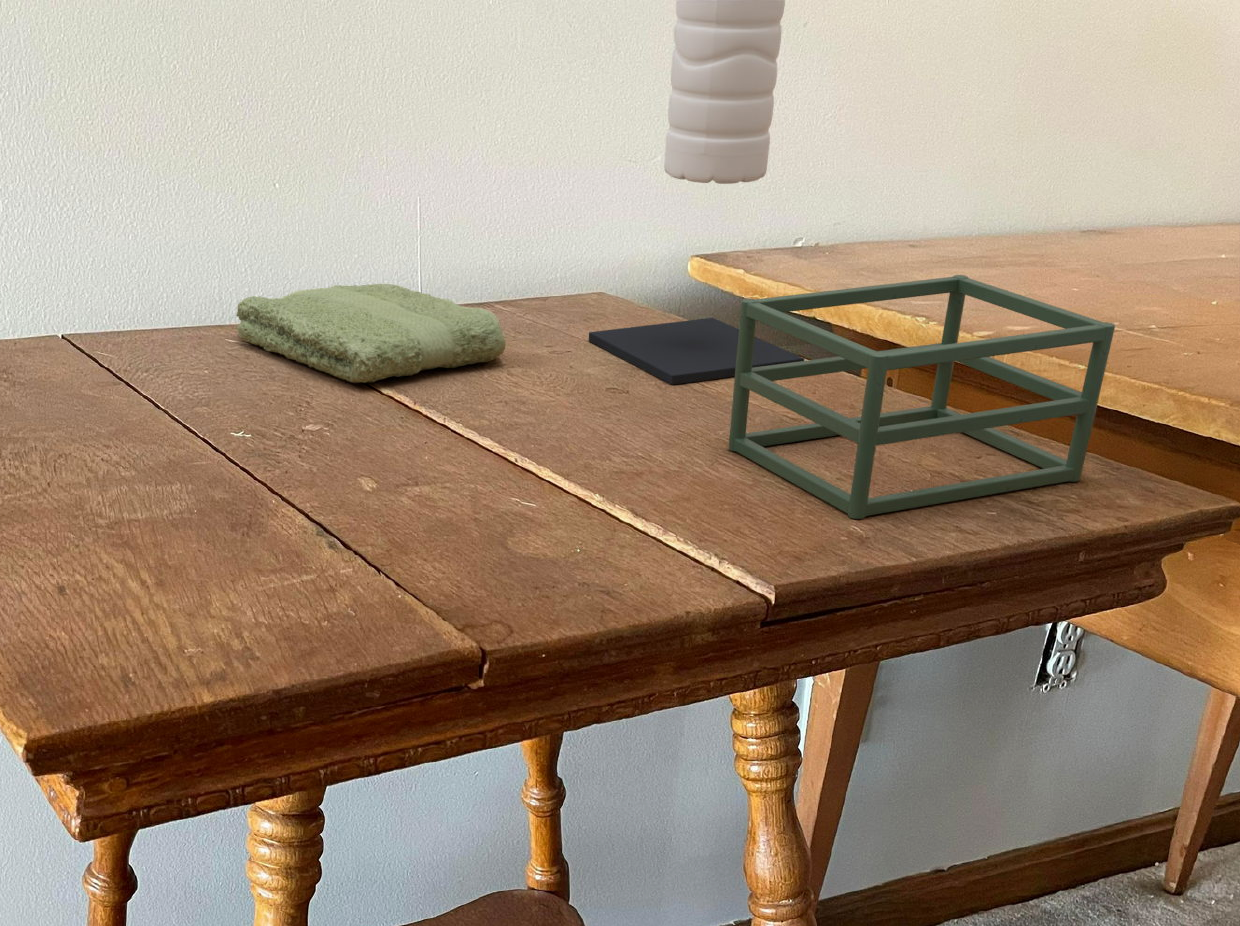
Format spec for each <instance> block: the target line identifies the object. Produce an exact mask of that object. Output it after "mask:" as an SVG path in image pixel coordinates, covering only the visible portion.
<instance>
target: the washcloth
mask: <svg viewBox="0 0 1240 926" xmlns="http://www.w3.org/2000/svg"><path fill="white" fill-rule="evenodd" d="M235 316H236V317H238V320H239V321H240V322H239V324H238V327H237V333H238V336H239V338H240V339H242V340H243V341H244V342H246V343H250V344H251V345H254V346H259V347H261V348H263V350H265V351H267V352H269V353H270V352H273V353H277V354H280V355H282V356H284V357H286V358H287V359H289V360H294V361H296V362H297V363H302V364H305V365H306V366H307V365H308V367H309V368H314V370H318V371H321V372H324V373H327V374H329V375H330V376H333V377H335V378H338V379H341V380H346V381H347V382H350V383H374V382H377V381H381V380H385V379H387V378H391V377H396V378H398V377H399V378H400V377H405V376H406V377H407V376H413V375H415V374H418V373H419V372H420V371H425V370H432V369H436V368H444V369H456V368H458V367H462V366H466V365H474V364H478V363H488V362H491V361H493V360H495V358H497V357H500V356H501V355H502V354H503V353H504V351H505V350H506V346H507V345H506V343H507V342H506V338H505V335H504V332H503V328H502V326H501V323H500V320H499V319H498V317H497V315H495V314H494V313H493V312H492V311H491V310H488V309H487V308H483V307H467V306H463V305H460V304H457V303H456V302H454V301H452V300H451V299H447V298H441V297H436V296H432V295H431V294H430V293H429V294H428V293H424V292H421V291H414V290H411V289H409V288H406V287H403V286H400V285H397V284H393V283H373V284H361V285H339V284H337V285H336V284H335V285H333V286H329V287H322V288H320V287H319V288H311V289H301V290H300V289H299V290H296V291H294V292H290V293H288V294H287V295H284V296H282V297H280V298H278V297H277V298H269V297H264V296H255V295H253V296H248V297H246V298H244V299H242V300H240V301H239V302H238V303H237V311H236V313H235Z"/></svg>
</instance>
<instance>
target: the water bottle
mask: <svg viewBox="0 0 1240 926" xmlns="http://www.w3.org/2000/svg"><path fill="white" fill-rule="evenodd" d="M785 6H786V0H676V1H675V11H676V12H675V13H676V18H677V19H676V22H675V24H674V28H673V41H674V44H675V45H674V47H673V50H672V57H671V67H670V68H671V70H670V85H671V87H672V88H671V91H670V94H669V100H668V111H667V120H668V124H669V127H668V129H667V132H666V135H665V136H666V137H665V148H664V149H665V151H664V165H663V167H664V172H665V173H666V174H667V175H668V176H669V177H671V178H674V179H677V180H686V181H688V182H691V183H699V184H700V183H701V184H709V183H711V182H714V183H715V184H720V185H731V184H739V183H740V182H741V183H751V182H756V181H758V180H760V179H762V178H764V177H765V176H766V174H767V169H768V163H769V162H768V161H769V153H770V143H771V134H770V132H769V131H770V130H769V129H770V127H771V126H772V121H773V115H774V106H775V105H774V104H775V97H774V94H773V92H774V90H775V88H776V86H777V85H776V84H777V78H778V63H777V59H778V57H779V55H780V54H779V53H780V49H781V43H782V25H781V22H782V21H781V20H782V19H783V17H784V12H785Z"/></svg>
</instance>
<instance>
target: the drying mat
mask: <svg viewBox="0 0 1240 926" xmlns="http://www.w3.org/2000/svg"><path fill="white" fill-rule="evenodd" d="M738 335H739V328H737V327H735V326H732V325H730V324H728V323H725V322H723V321H721V320H719V319H716V318H714V317H707V318H700V319H699V318H698V319H689V320H682V321H671V322H664V323H656V324H647V325H638V326H630V327H622V328H614V329H613V328H612V329H604V330H597V331H589V332H588V341H589V342H590V343H592V344H594V345H595V346H597V347H599V348H601V349H603V350H605V351H607V352H609V353H611V354H613V355H614V356H616V357H618V358H620V359H622V360H624V361H626V362H627V363H630V364H632V365H633V366H635V367H637V368H639V369H641V370H643V371H645V372H647V373H649V374H651V375H653V376H654V377H656V378H658V379H660V380H662V381H663V382H665V383H668V384H670V385H672V386H673V385H674V386H675V385H682V384H688V383H696V382H697V383H698V382H703V381H711V380H718V379H726V378H727V379H728V378H735V369H736V358H737V347H738ZM800 361H805V358H804V357H802V356H800V355H798V354H795V353H794V352H791V351H789V350H787V349H785V348H781V347H780V346H778V345H775V344H773V343H770V342H769V341H766V340H764V339H761V338H759V337H757V336H755V341H754V351H753V362H752V368H754V367H762V366H770V365H777V364H785V363H792V362H800Z"/></svg>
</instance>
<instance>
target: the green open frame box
mask: <svg viewBox="0 0 1240 926" xmlns="http://www.w3.org/2000/svg"><path fill="white" fill-rule="evenodd" d="M942 294H948V300H947V306H946V311H945V313H946V314H945V319H944V325H943V330H942V337H941V342H937V343H932V344H930V343H929V344H924V345H915V346H907V347H901V348H892V349H885V350H874V349H872V348H869V347H868V346H865V345H862V344H860V343H857V342H855V341H852V340H850V339H847V338H846V337H843V336H840V335H838V334H836V333H833V332H830V331H828V330H826V329H823V328H821V327H820V326H819V327H818V326H816V325H813V324H811V323H809V322H806V321H804V320H802V319H799V318H797V317H794V316H792V315H789V314H787V313H790V312H799V311H807V310H816V309H817V310H818V309H825V308H832V307H842V306H849V305H856V304H857V305H858V304H866V303H875V302H883V301H892V300H900V299H908V298H917V297H926V296H933V295H942ZM966 296H968V297H971V298H973V299H976V300H979V301H982V302H986V303H988V304H992V305H993V306H997V307H999V308H1000V307H1001V308H1003V309H1006V310H1009V311H1011V312H1015V313H1018V314H1021V315H1024V316H1026V317H1029V318H1033V319H1035V320H1038V321H1041V322H1044V323H1047V324H1049V325H1050V324H1051V325H1052V326H1056V327H1059V328H1061V329H1054V330H1045V331H1037V332H1031V333H1024V334H1023V333H1022V334H1015V335H1007V336H1001V337H999V336H998V337H993V338H984V339H978V340H971V341H969V340H968V341H961V342H958V341H959V336H960V330H961V323H962V319H963V318H962V317H963V312H964V305H965V300H966ZM740 302H741V303H740V313H739V314H740V315H739V324H738V329H739V335H738V347H737V358H736V369H735V377H734V381H733V394H732V403H731V415H730V416H731V417H730V425H729V426H730V427H729V438H728V450H729V451H731V452H735V453H738V454H740V455H742V456H743V457H745V458H747V459H748V460H751V461H752V462H754V463H756V464H757V465H760V466H761V467H763V468H765V469H766V470H768V471H770V472H771V473H774V474H775V475H777V476H779V477H781V478H783V479H785V480H786V481H787V482H790V483H792V484H793V485H795V486H797V487H799V488H800V489H802V490H805V492H808V493H810V494H812V495H813V496H815V497H817V498H819V499H820V500H822V501H823V502H825V503H828V504H829V505H831V506H833V507H834V508H836V509H838V510H840V511H841V512H844V513H845V514H847V517H848V518H850V519H853V520H863V519H865V518H866V517H868V516H874V515H880V514H881V515H882V514H885V513H893V512H898V511H903V510H909V509H915V508H921V507H926V506H927V507H928V506H933V505H938V504H944V503H950V502H956V501H961V500H968V499H972V498H980V497H986V496H992V495H996V494H1002V493H1008V492H1014V491H1019V490H1026V489H1031V488H1037V487H1042V486H1043V487H1044V486H1049V485H1054V484H1060V483H1066V482H1071V483H1075V482H1076V483H1077V482H1079V481H1080V480H1081V477H1082V474H1083V469H1084V465H1085V461H1086V456H1087V453H1088V446H1089V442H1090V438H1091V434H1092V430H1093V424H1094V421H1095V417H1096V413H1097V408H1098V403H1099V400H1100V394H1101V390H1102V387H1103V386H1102V385H1103V382H1104V378H1105V373H1106V369H1107V365H1108V359H1109V354H1110V350H1111V347H1112V346H1111V345H1112V342H1113V337H1114V333H1115V329H1116V324H1114V323H1112V322H1108V321H1107V322H1105V321H1101V320H1098V319H1095V318H1092V317H1089V316H1085V315H1082V314H1080V313H1076V312H1074V311H1070V310H1068V309H1064V308H1062V307H1058V306H1055V305H1052V304H1049V303H1046V302H1043V301H1040V300H1037V299H1034V298H1031V297H1027V296H1024V295H1022V294H1018V293H1016V292H1013V291H1009V290H1006V289H1003V288H1000V287H997V286H995V285H991V284H988V283H985V282H982V281H979V280H976V279H973V278H970V277H969V276H968V275H965V274H964V275H963V274H954V275H952V276H947V277H939V278H931V279H930V278H929V279H920V280H912V281H903V282H895V283H887V284H885V283H884V284H877V285H868V286H859V287H852V288H851V287H850V288H843V289H842V288H841V289H834V290H824V291H817V292H808V293H798V294H790V295H782V296H772V297H764V298H743V299H741V301H740ZM757 322H759V323H760V324H764V326H765V325H766V326H767V327H770V328H772V329H774V330H777V331H779V332H782V333H784V334H787V335H788V336H791V337H793V338H795V339H798V340H800V341H803V342H805V343H807V344H810V345H812V346H814V347H816V348H819V349H821V350H823V351H826V352H828V353H831V354H833V355H835V356H832V357H825V358H824V357H823V358H816V359H807V360H804V361H800V362H792V363H785V364H777V365H770V366H762V367H754V368H752V362H753V351H754V341H755V337H756V328H757ZM1085 344H1092V345H1091V349H1090V354H1089V358H1088V363H1087V368H1086V371H1085V375H1084V381H1083V385H1082V390H1081V391H1080V390H1078V389H1074V388H1072V387H1069V386H1067V385H1064V384H1062V383H1059V382H1056V381H1054V380H1051V379H1049V378H1046V377H1043V376H1041V375H1038V374H1035V373H1033V372H1030V371H1028V370H1025V369H1022V368H1019V367H1017V366H1015V365H1012V364H1009V363H1007V362H1004V361H1001V360H999V359H996V358H993V357H997V356H1005V355H1010V354H1011V355H1012V354H1018V353H1019V354H1020V353H1026V352H1033V351H1035V352H1036V351H1041V350H1042V351H1043V350H1048V349H1049V350H1050V349H1056V348H1065V347H1070V346H1077V345H1085ZM955 362H957V363H958V364H961V365H964V366H966V367H969V368H972V369H974V370H977V371H979V372H981V373H983V374H984V373H985V374H986V375H989V376H991V377H994V378H997V379H1000V380H1002V381H1005V382H1007V383H1009V384H1012V385H1015V386H1017V387H1020V388H1022V389H1023V390H1024V389H1025V390H1027V391H1030V392H1031V393H1034V394H1037V395H1039V396H1042V397H1044V398H1047V399H1050V400H1051V401H1043V402H1036V403H1029V404H1023V405H1016V406H1015V405H1014V406H1009V407H1003V408H997V409H990V410H982V411H976V412H969V413H963V414H961V413H959V412H957V411H954V410H952V409H951V408H948V407H947V406H948V401H949V394H950V388H951V382H952V376H953V370H954V365H955ZM931 365H937V368H936V373H935V378H934V385H933V391H932V396H931V404H930V405H929V406H922V407H915V408H908V409H901V410H895V411H888V412H882V406H883V398H884V392H885V386H886V379H887V372H888V371H893V370H894V371H895V370H901V369H910V368H917V367H923V366H931ZM865 369H867V372H866V381H865V388H864V395H863V402H862V410H861V415H859V416H854V417H848V416H846V415H843V414H841V413H840V412H837V411H835V410H833V409H831V408H829V407H827V406H825V405H822V404H820V403H818V402H816V401H814V400H812V399H810V398H808V397H806V396H804V395H802V394H800V393H797V392H795V391H793V390H791V389H789V388H787V387H785V386H783V385H781V384H778V383H776V382H777V381H784V380H791V379H798V378H799V379H800V378H807V377H814V376H821V375H829V374H836V373H843V372H851V371H858V370H865ZM751 392H753V393H755V394H757V395H758V396H760V397H762V398H765V399H767V400H768V401H771V402H773V403H775V404H777V405H778V406H781V407H783V408H785V409H787V410H789V411H791V412H793V413H795V414H797V415H798V416H800V417H803V418H805V419H807V420H809V421H811V423H808V424H807V423H806V424H800V425H792V426H785V427H779V428H773V429H771V428H770V429H766V430H765V429H764V430H759V431H750V432H747V424H748V416H749V415H748V413H749V405H750V393H751ZM1069 416H1076V417H1075V421H1074V426H1073V429H1072V436H1071V439H1070V444H1069V448H1068V454H1067V458H1066V459H1065V458H1063V457H1060V456H1058V455H1057V454H1054V453H1051V452H1049V451H1047V450H1044V449H1043V448H1040V447H1038V446H1035V445H1033V444H1030V443H1028V442H1026V441H1024V440H1022V439H1019V438H1017V437H1015V436H1012V435H1010V434H1008V433H1005V432H1003V431H1000V430H999V429H996V428H998V427H1004V426H1011V425H1017V424H1024V423H1032V422H1038V421H1044V420H1051V419H1056V418H1057V419H1058V418H1062V417H1063V418H1064V417H1069ZM812 422H813V423H812ZM960 433H963V434H965V435H968V436H969V437H972V438H975V439H977V440H978V441H981V442H983V443H986V444H987V445H990V446H992V447H994V448H997V449H999V450H1000V451H1003V452H1006V453H1007V454H1010V455H1013V456H1015V457H1017V458H1019V459H1021V460H1024V461H1026V462H1028V463H1030V464H1032V465H1035V466H1037V467H1039V468H1041V469H1036V470H1035V469H1034V470H1029V471H1023V472H1017V473H1010V474H1005V475H998V476H993V477H987V478H981V479H974V480H969V481H962V482H957V483H951V484H945V485H939V486H934V487H928V488H922V489H915V490H909V491H904V492H898V493H892V494H885V495H879V496H874V497H869V495H870V489H871V482H872V474H873V468H874V460H875V453H876V449H877V446H883V445H889V444H896V443H902V442H908V441H909V442H910V441H914V440H922V439H927V438H933V437H934V438H935V437H941V436H947V435H953V434H960ZM836 436H842V437H844V438H846V439H848V440H849V441H852V442H853V443H856V444H857V447H856V453H855V461H854V467H853V468H854V469H853V475H852V483H851V489H850V493H849V492H847V491H845V490H843V489H841V488H839V487H838V486H836V485H834V484H832V483H830V482H829V481H827V480H825V479H823V478H821V477H819V476H817V475H816V474H814V473H812V472H810V471H808V470H806V469H805V468H803V467H801V466H799V465H797V464H795V463H793V462H792V461H790V460H788V459H786V458H784V457H782V456H780V455H779V454H776V453H775V452H773V451H771V450H769V449H767V448H765V447H769V446H775V445H781V444H789V443H795V442H801V441H802V442H803V441H810V440H817V439H823V438H828V437H829V438H830V437H836Z"/></svg>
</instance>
